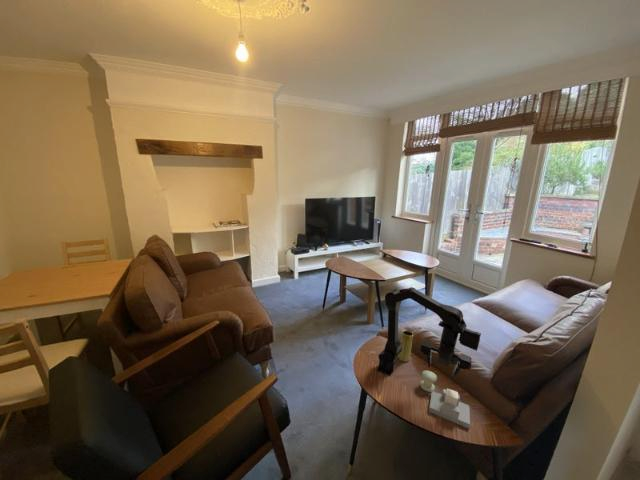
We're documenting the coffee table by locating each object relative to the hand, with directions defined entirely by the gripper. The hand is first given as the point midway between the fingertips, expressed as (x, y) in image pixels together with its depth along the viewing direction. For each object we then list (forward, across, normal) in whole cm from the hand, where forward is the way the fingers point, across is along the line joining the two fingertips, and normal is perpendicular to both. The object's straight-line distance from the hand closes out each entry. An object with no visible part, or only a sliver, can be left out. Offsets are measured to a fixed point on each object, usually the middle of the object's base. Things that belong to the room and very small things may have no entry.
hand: (440, 371), depth 110 cm
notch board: (+11, +6, -6) cm, 14 cm away
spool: (+12, -4, +3) cm, 12 cm away
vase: (+12, -17, +18) cm, 27 cm away
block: (+9, +6, -6) cm, 12 cm away
